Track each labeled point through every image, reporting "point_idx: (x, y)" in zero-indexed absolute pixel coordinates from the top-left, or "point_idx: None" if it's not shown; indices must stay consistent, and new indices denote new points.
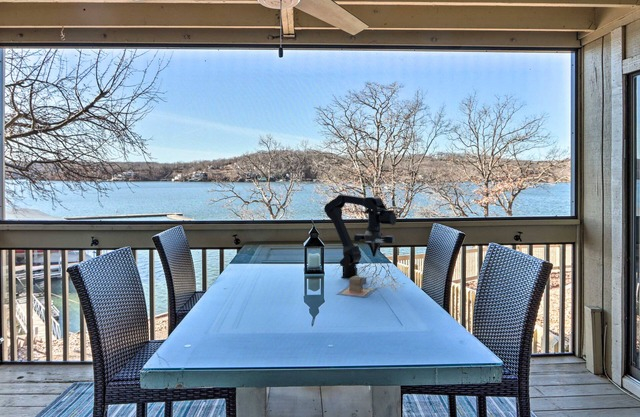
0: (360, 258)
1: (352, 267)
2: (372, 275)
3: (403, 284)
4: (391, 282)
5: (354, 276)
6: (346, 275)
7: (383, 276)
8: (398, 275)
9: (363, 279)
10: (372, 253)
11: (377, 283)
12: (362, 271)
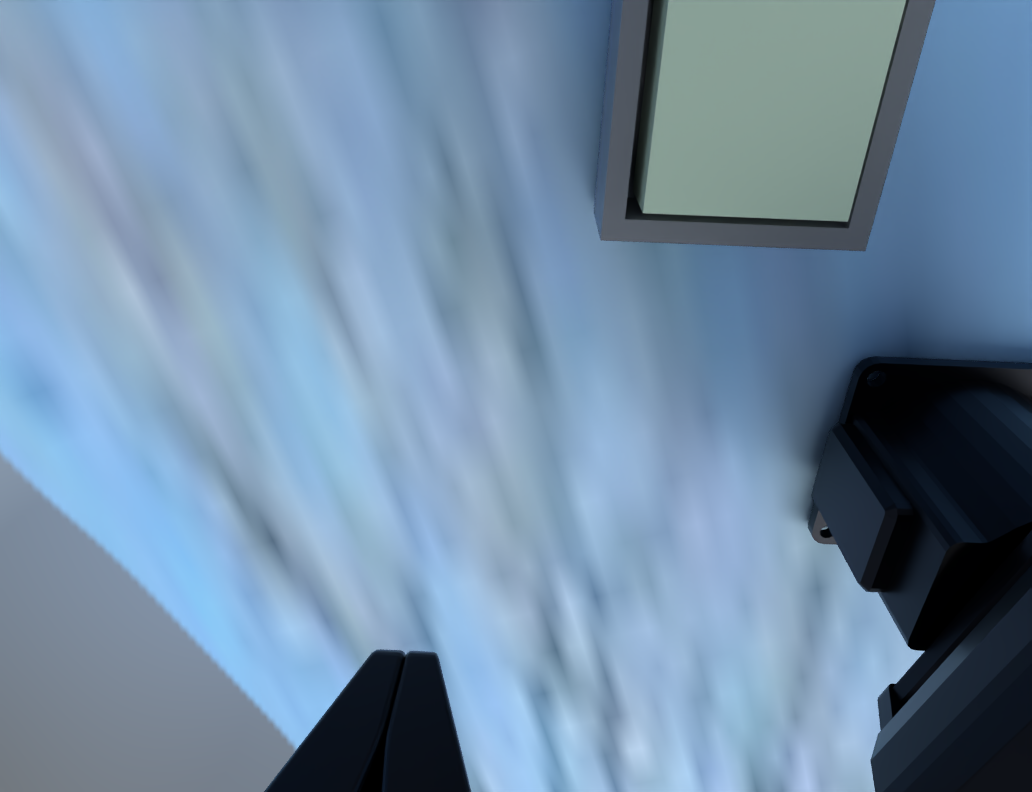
0: (875, 772)
1: (975, 520)
2: (605, 631)
3: (5, 326)
4: (221, 378)
5: (857, 146)
6: (1014, 398)
7: (449, 626)
8: (291, 705)
9: (618, 41)
10: (439, 742)
11: (399, 247)
12: (774, 752)
